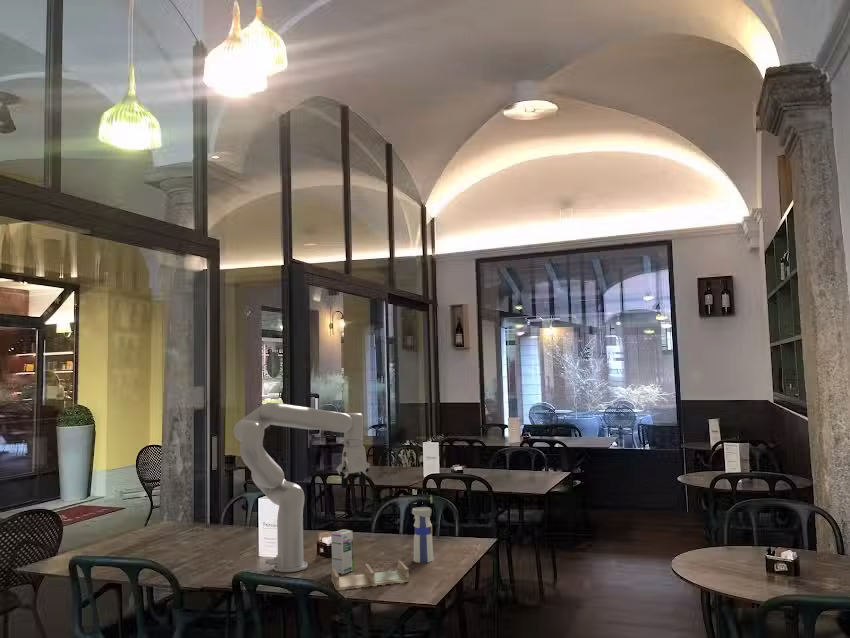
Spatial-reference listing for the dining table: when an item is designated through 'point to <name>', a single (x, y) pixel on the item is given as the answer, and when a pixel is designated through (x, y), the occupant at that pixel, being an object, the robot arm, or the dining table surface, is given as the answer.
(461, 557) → the dining table surface
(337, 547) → the syrup box
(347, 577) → the slot rack
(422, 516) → the water bottle
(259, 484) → the robot arm
